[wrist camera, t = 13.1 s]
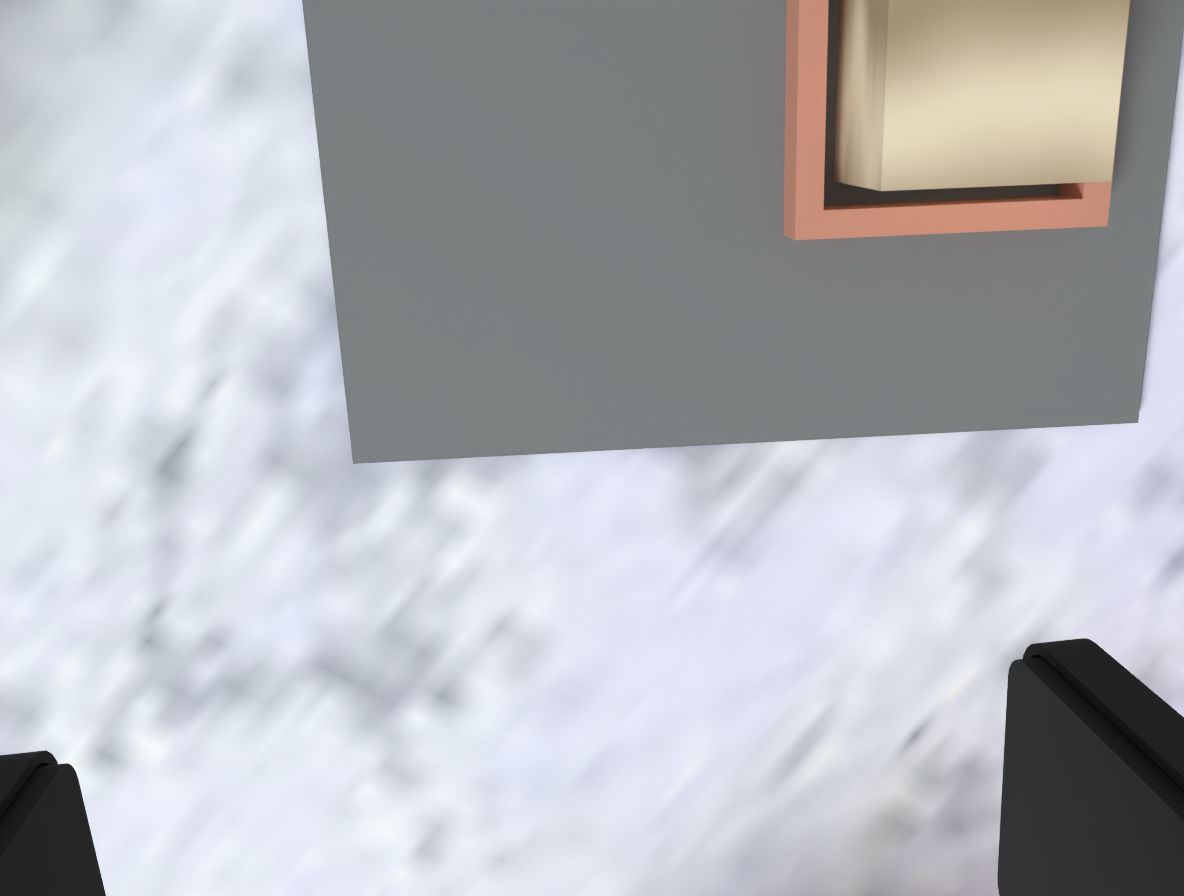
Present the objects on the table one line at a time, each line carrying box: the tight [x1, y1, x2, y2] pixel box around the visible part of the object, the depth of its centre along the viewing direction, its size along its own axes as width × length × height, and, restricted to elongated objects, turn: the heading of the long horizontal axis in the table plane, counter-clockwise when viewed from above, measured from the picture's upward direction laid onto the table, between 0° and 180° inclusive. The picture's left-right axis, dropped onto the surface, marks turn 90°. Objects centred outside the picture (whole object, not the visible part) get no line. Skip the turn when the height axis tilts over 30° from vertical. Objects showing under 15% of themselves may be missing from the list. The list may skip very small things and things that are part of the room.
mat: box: [302, 0, 1184, 464], centre depth 30 cm, size 25×20×2 cm
